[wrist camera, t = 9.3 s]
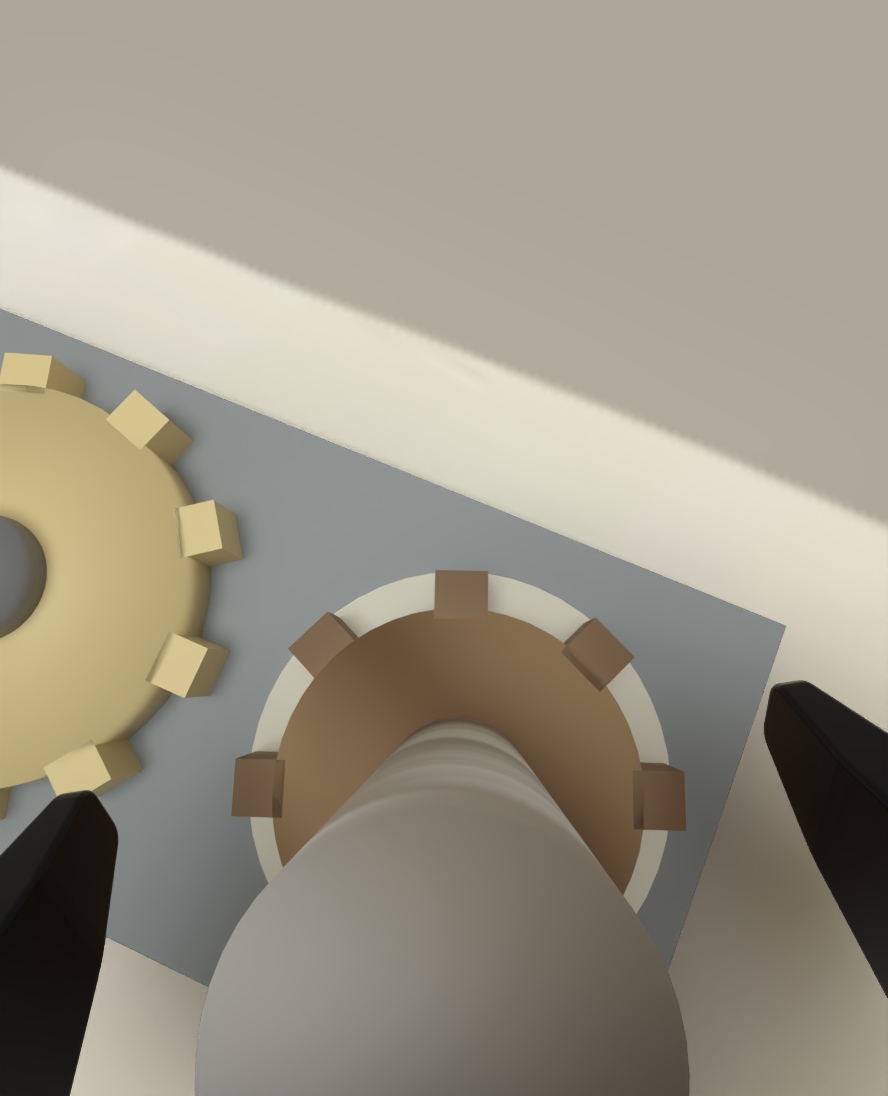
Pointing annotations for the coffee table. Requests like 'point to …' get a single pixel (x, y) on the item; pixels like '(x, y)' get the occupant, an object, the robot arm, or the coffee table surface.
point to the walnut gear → (450, 873)
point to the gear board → (278, 628)
